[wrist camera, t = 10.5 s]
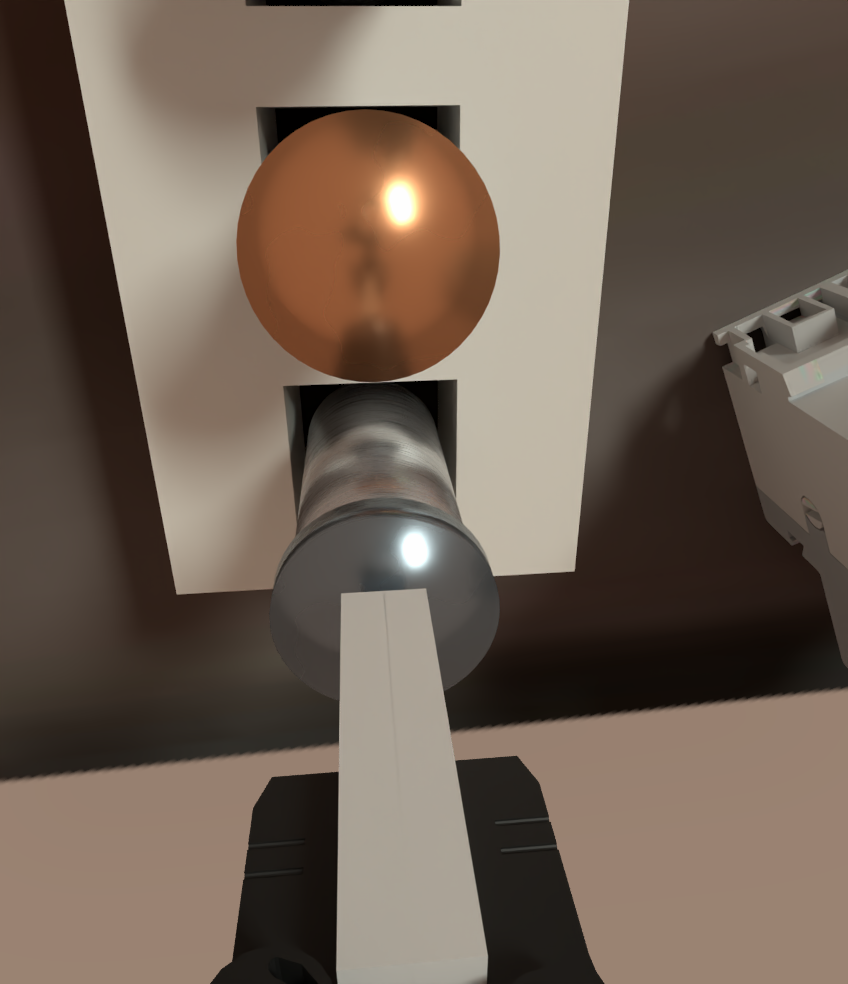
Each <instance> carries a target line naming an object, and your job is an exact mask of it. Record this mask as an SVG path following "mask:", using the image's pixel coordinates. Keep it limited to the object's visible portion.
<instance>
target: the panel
mask: <svg viewBox="0 0 848 984" xmlns="http://www.w3.org/2000/svg"><path fill="white" fill-rule="evenodd" d="M64 2H65V7H66V13H67V18H68V23H69V28H70V34H71V39H72V44H73V50H74V55H75V60H76V65H77V71H78V76H79V81H80V87H81V92H82V97H83V102H84V108H85V113H86V118H87V124H88V129H89V134H90V139H91V145H92V150H93V155H94V160H95V166H96V171H97V176H98V182H99V187H100V192H101V197H102V203H103V208H104V213H105V219H106V224H107V229H108V234H109V240H110V245H111V250H112V256H113V261H114V266H115V271H116V277H117V282H118V287H119V293H120V298H121V303H122V308H123V314H124V319H125V324H126V329H127V335H128V340H129V345H130V351H131V356H132V361H133V366H134V372H135V377H136V382H137V388H138V393H139V398H140V403H141V409H142V414H143V419H144V425H145V430H146V435H147V440H148V446H149V451H150V456H151V462H152V467H153V472H154V477H155V483H156V488H157V493H158V498H159V504H160V509H161V514H162V520H163V525H164V530H165V535H166V541H167V546H168V551H169V557H170V562H171V567H172V572H173V578H174V583H175V588H176V594H193V593H211V592H228V591H245V590H262V589H273V585H274V579H275V575H276V571H277V568H278V564H279V562H280V560H281V558H282V556H283V554H284V552H285V550H286V549H287V547H288V546H289V544H290V543H291V541H292V540H293V539H294V538H295V536H296V528H297V520H298V512H299V504H300V496H301V488H302V480H303V472H304V464H305V456H306V455H305V443H304V432H303V420H302V409H301V398H300V386H299V385H321V384H347V383H374V382H357V381H350V380H344V379H340V378H337V377H333V376H330V375H327V374H324V373H322V372H320V371H317V370H315V369H313V368H311V367H309V366H307V365H306V364H304V363H302V362H300V361H299V360H297V359H296V358H295V357H293V356H292V355H291V354H289V353H288V352H287V351H285V350H284V349H283V348H282V347H281V346H280V345H279V344H278V343H277V342H276V341H275V340H274V339H273V338H272V337H271V335H270V334H269V333H268V332H267V330H266V329H265V328H264V327H263V325H262V324H261V322H260V321H259V319H258V317H257V316H256V314H255V313H254V311H253V309H252V307H251V305H250V302H249V300H248V298H247V296H246V293H245V290H244V287H243V284H242V281H241V278H240V272H239V267H238V261H237V245H236V239H237V226H238V220H239V215H240V210H241V205H242V203H243V200H244V197H245V194H246V191H247V189H248V186H249V185H250V183H251V181H252V179H253V177H254V175H255V173H256V171H257V170H258V168H259V167H260V166H261V164H262V163H263V161H264V160H265V158H266V157H267V156H268V155H269V154H270V153H271V152H272V151H273V149H274V148H275V147H276V146H277V145H278V136H277V124H276V113H275V109H279V108H379V107H437V131H438V132H439V133H441V134H442V135H443V136H445V137H446V138H447V139H449V140H450V141H451V142H452V143H453V144H454V145H455V146H456V147H457V148H458V149H459V150H461V151H462V152H463V153H464V155H465V156H466V157H467V158H468V160H469V161H470V162H471V163H472V165H473V166H474V167H475V169H476V170H477V172H478V174H479V175H480V177H481V179H482V180H483V182H484V184H485V186H486V188H487V191H488V193H489V195H490V198H491V200H492V203H493V207H494V210H495V214H496V217H497V223H498V229H499V236H500V258H499V268H498V274H497V279H496V283H495V287H494V290H493V293H492V296H491V299H490V301H489V304H488V306H487V308H486V310H485V312H484V314H483V316H482V318H481V319H480V321H479V322H478V324H477V325H476V327H475V328H474V330H473V331H472V333H471V334H470V335H469V336H468V337H467V338H466V339H465V341H464V342H463V343H462V344H461V345H460V346H459V347H458V348H457V349H455V350H454V351H453V352H452V353H451V354H450V355H449V356H447V357H446V358H444V359H443V360H441V361H440V362H438V363H437V364H435V365H434V366H432V367H430V368H428V369H426V370H424V371H422V372H419V373H417V374H414V375H411V376H408V377H405V378H401V379H396V380H392V381H383V382H400V381H427V380H438V437H439V441H440V444H441V448H442V451H443V455H444V458H445V462H446V466H447V469H448V473H449V476H450V480H451V483H452V487H453V491H454V494H455V498H456V501H457V505H458V508H459V512H460V516H461V519H462V523H463V524H464V525H465V526H466V527H467V528H468V529H469V530H470V531H471V532H472V533H473V535H474V536H475V537H476V539H477V540H478V541H479V542H480V544H481V546H482V548H483V550H484V551H485V553H486V556H487V558H488V561H489V564H490V567H491V570H492V573H493V576H504V575H521V574H538V573H556V572H573V571H575V562H576V552H577V541H578V531H579V520H580V509H581V499H582V488H583V478H584V467H585V457H586V446H587V436H588V425H589V415H590V404H591V394H592V383H593V373H594V362H595V352H596V341H597V331H598V320H599V310H600V299H601V289H602V278H603V268H604V257H605V247H606V236H607V226H608V215H609V205H610V194H611V184H612V173H613V163H614V152H615V142H616V131H617V121H618V110H619V100H620V89H621V79H622V68H623V58H624V47H625V37H626V26H627V16H628V5H629V0H437V6H266V0H64Z"/></svg>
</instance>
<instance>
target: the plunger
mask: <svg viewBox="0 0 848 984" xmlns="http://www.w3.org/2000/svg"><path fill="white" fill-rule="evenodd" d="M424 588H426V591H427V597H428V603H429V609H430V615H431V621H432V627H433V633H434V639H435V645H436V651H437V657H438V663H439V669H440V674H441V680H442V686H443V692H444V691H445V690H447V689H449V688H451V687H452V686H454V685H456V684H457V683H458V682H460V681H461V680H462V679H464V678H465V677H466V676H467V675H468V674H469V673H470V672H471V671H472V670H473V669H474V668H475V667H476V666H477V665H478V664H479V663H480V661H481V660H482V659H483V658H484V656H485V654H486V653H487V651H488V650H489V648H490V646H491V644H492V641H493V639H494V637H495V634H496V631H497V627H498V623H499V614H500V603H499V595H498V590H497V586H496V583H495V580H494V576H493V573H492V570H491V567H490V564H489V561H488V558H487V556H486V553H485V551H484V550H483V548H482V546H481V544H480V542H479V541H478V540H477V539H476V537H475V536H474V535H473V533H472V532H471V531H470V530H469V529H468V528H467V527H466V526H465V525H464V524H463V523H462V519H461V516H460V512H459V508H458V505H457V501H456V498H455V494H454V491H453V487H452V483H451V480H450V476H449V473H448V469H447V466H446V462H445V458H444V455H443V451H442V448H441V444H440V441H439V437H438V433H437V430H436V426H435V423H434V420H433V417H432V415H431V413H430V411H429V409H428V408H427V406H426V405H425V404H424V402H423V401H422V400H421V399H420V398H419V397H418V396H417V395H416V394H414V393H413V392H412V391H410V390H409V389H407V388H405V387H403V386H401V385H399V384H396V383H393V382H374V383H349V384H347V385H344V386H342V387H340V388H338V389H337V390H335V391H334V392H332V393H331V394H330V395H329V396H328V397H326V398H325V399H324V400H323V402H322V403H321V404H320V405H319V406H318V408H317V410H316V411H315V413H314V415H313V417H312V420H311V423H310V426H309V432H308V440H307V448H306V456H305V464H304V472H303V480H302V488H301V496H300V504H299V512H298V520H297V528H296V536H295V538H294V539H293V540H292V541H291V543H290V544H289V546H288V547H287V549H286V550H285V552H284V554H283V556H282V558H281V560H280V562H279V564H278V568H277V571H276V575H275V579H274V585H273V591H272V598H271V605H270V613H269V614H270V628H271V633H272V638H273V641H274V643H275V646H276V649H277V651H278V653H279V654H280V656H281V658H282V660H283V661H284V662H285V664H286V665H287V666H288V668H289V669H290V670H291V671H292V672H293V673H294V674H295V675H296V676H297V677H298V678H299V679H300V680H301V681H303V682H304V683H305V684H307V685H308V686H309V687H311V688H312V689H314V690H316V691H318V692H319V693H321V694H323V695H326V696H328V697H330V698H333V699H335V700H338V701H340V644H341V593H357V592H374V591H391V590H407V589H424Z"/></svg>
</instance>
